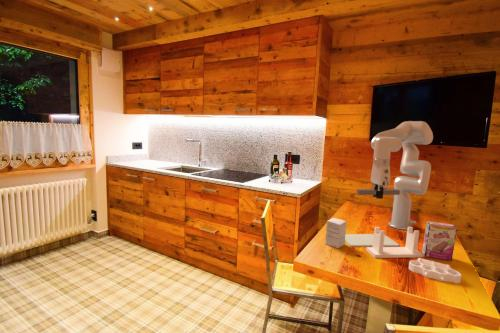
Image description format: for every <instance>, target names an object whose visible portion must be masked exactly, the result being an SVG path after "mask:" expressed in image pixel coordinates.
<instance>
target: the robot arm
mask: <svg viewBox="0 0 500 333" xmlns="http://www.w3.org/2000/svg"><path fill="white" fill-rule="evenodd" d="M433 139H434V135H433V131H432V129H431V127H430V126H429V124H428V123H427V122H426V121H423V120H422V121H421V120H418V121H417V120H415V121H413V120H408V121H406V120H405V121H403V122H401V123H400V124H399V125H397V126H396V127H395V128H392V129H389V130H388V129H387V130H384V131H381V132H378V133H377V134H376V135H375V136H373V138H372V139H371V142H370V147H371V149H373V156H372V157H373V160H372V167H371V172H370V183H371V184H372V186H373V187H372V189H378V191H377V195H372V197H373V198H376V199H381V200H382V199H383V198H384V195H383V191H384V189H389V188H388V187H389V186H390V182H391V167H390V161H391V152H392V153H395V152H399V151H400V150H401V149H402V150H403V151H402V157H401V161H400V166H399V167H400V168H399V172H400V173H401V174H403V175H400V176H399V175H398V176H396V177H395V178H394V180H393V189H398V190H400V195H393V205H392V212H391V213H392V214H391V220H390V221H388V224H387V225H388V226H389V227H391V228H394V229H398V230H403V231H407V229H408V227H412V225H417V221H416V220H412V219H410V217H411V210H412V202H413V201H412V198H411V196H410V194H414V195H419V196H422V195H425V194H427V193H426V192H427V191H428V187H429V181H430V176H431V172H432V164H431V162H429V161H427V160H422V159H421V160H420V159H419V156H420V151H419V149H418V147H417V146H416V145H425V146H426V145H429V144H431V143H432V142H433ZM405 175H408V176H405ZM411 176H415V177H411Z"/></svg>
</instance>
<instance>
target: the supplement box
mask: <svg viewBox="0 0 500 333" xmlns="http://www.w3.org/2000/svg"><path fill="white" fill-rule="evenodd" d="M345 234H347V221H346V220H344V219H340V218H336V217H333V218H330V219H329V220H326V232H325V245H328V246H330V247H334V248H336V249H339V248H341V247H342V246H345V244H346V242H345Z"/></svg>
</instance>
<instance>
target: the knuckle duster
mask: <svg viewBox="0 0 500 333" xmlns="http://www.w3.org/2000/svg"><path fill="white" fill-rule="evenodd" d="M408 270H410V272H412V273H416V274H418V275H419V274H420V275H421V276H423V277H426V278H428V279H433V280H437V281H440V282H450V283H453V284H459V283H461V281H462V273H461V272H460V271H457V269H453V268H451V265H450V264H448V263H442V262H436V261H435V260H429V259H425V258H422V257H417V259H416V260H414V259H413V260H411V259H410V260H409V262H408Z"/></svg>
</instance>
